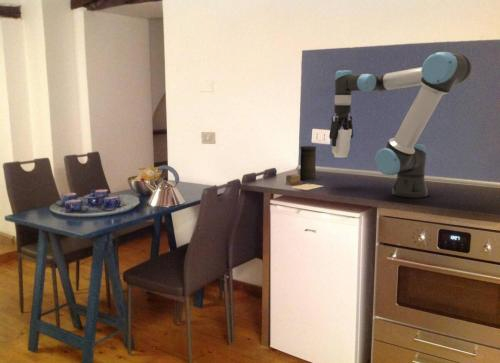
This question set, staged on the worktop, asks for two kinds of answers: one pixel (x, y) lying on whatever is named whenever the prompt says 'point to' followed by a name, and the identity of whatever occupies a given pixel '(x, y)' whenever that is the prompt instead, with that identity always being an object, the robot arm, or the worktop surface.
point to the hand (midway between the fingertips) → (340, 152)
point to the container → (308, 163)
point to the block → (293, 179)
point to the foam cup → (343, 143)
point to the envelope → (307, 186)
